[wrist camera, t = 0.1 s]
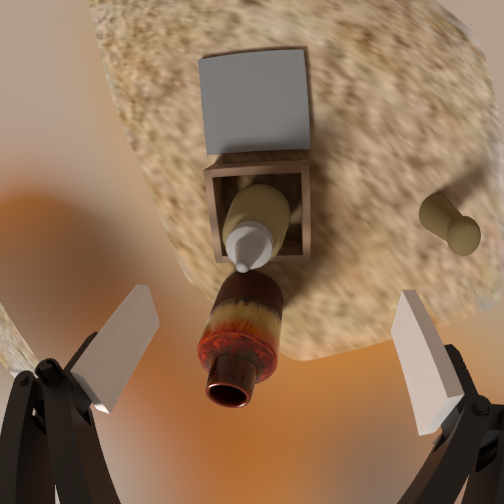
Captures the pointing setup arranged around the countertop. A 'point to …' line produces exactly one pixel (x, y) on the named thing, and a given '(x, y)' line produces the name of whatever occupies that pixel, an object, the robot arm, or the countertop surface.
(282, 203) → the squeeze bottle
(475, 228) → the cork
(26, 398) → the robot arm
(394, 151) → the countertop surface
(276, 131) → the slate mat
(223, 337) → the vase
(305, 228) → the bottle holder
